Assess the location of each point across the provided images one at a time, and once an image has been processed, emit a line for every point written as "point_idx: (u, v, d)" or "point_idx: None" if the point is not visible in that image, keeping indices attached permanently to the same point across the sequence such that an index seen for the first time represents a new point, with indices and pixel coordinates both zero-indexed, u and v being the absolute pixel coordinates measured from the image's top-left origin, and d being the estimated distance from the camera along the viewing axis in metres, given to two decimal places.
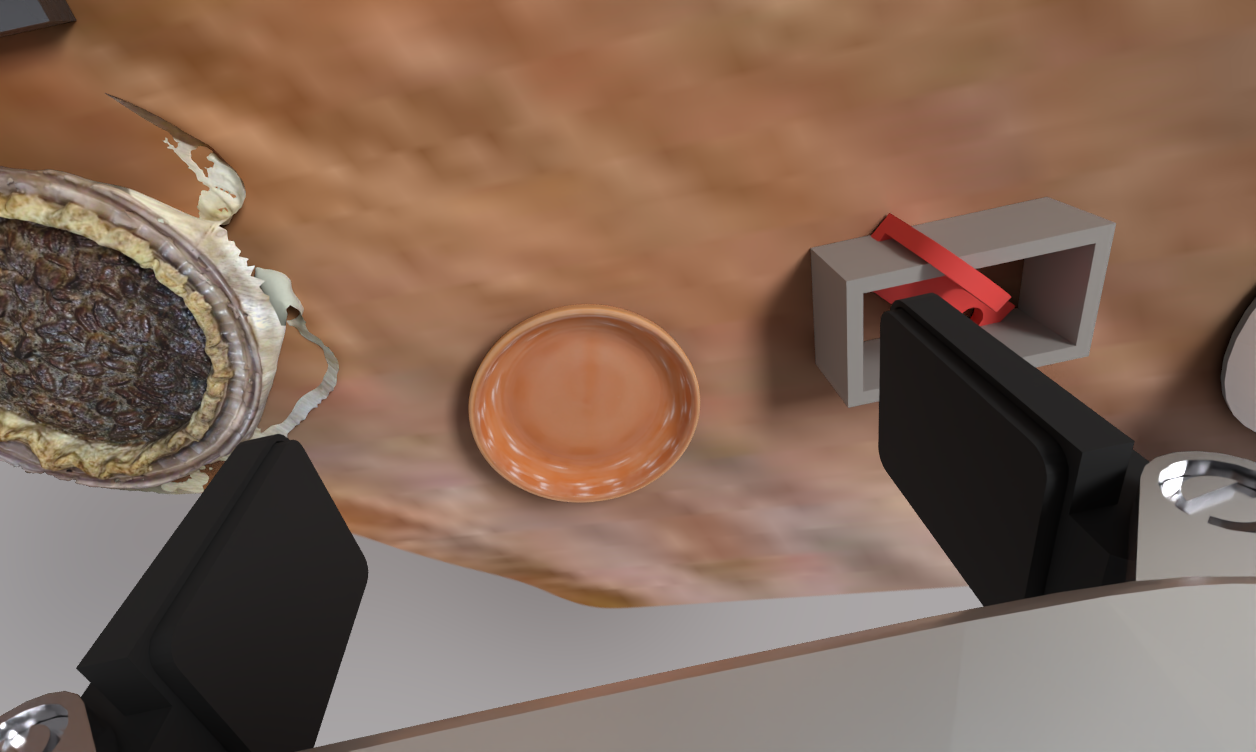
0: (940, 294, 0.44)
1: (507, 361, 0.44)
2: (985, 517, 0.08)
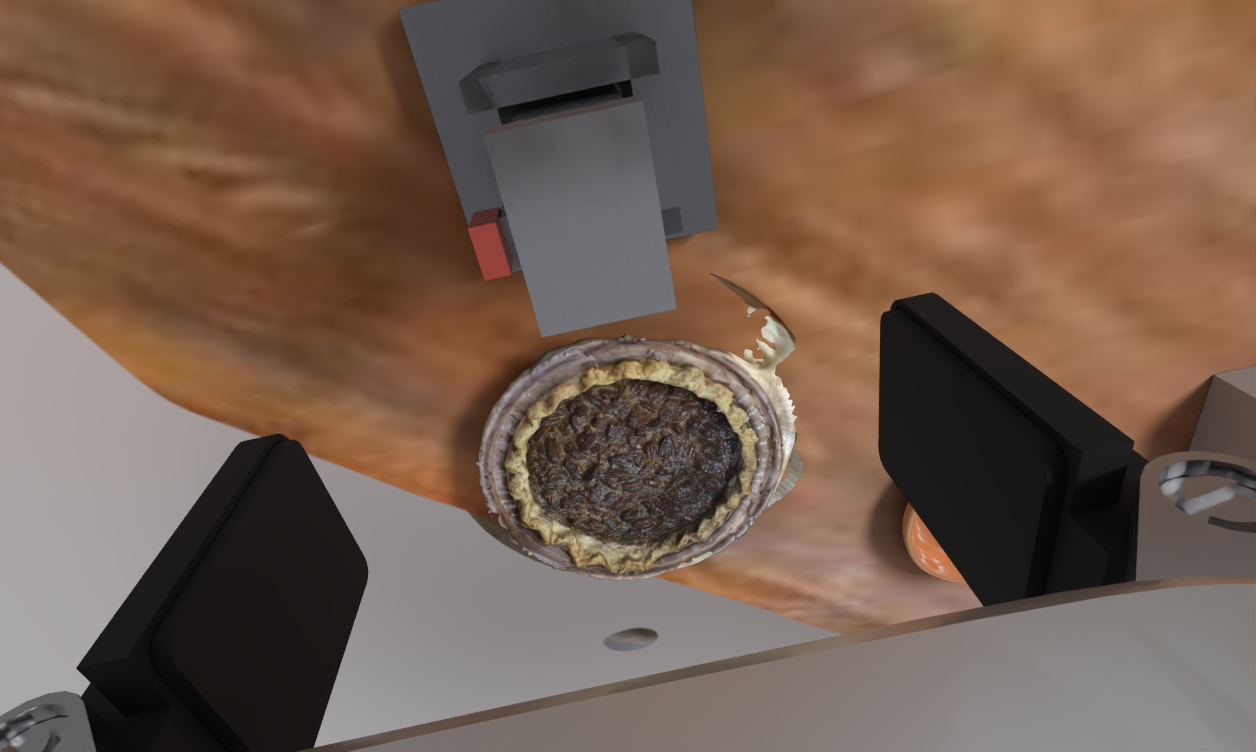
0: None
1: None
2: (986, 517, 0.08)
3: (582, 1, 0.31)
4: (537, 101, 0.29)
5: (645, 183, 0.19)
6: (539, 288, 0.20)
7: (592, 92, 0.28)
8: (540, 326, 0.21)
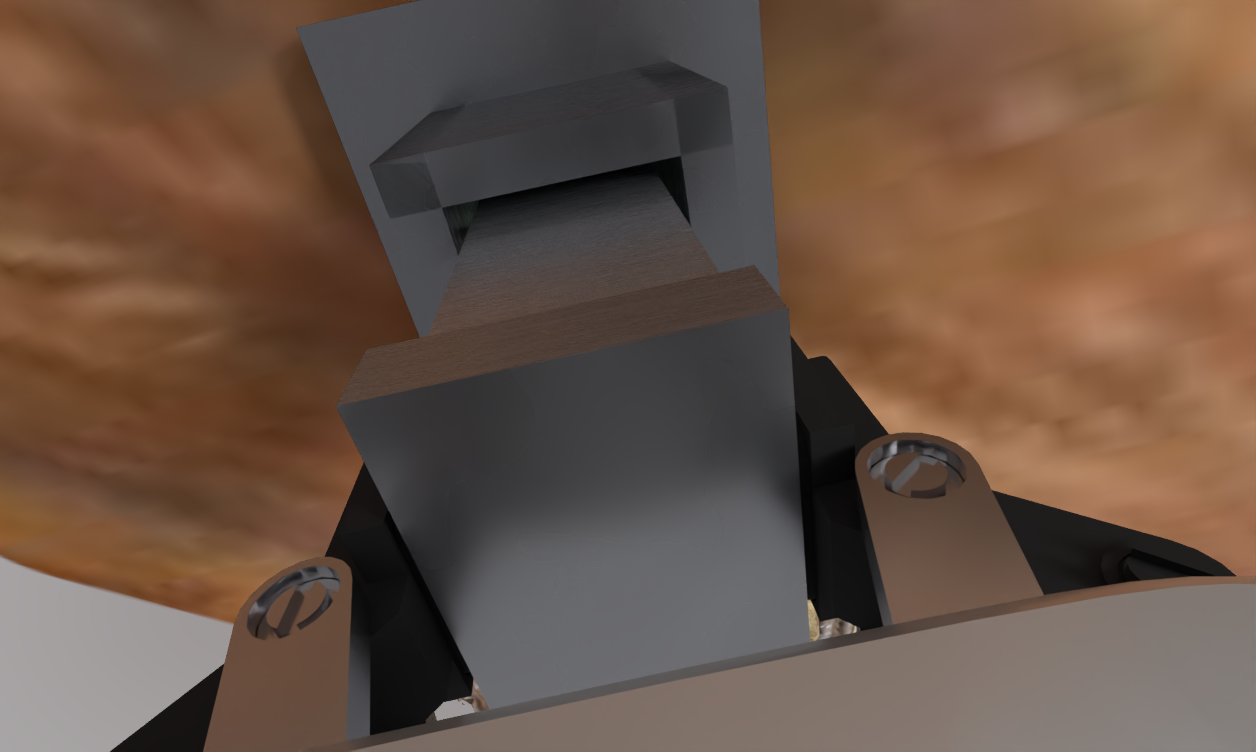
0: None
1: None
2: None
3: (589, 14, 0.20)
4: None
5: (772, 488, 0.07)
6: (507, 687, 0.09)
7: None
8: None
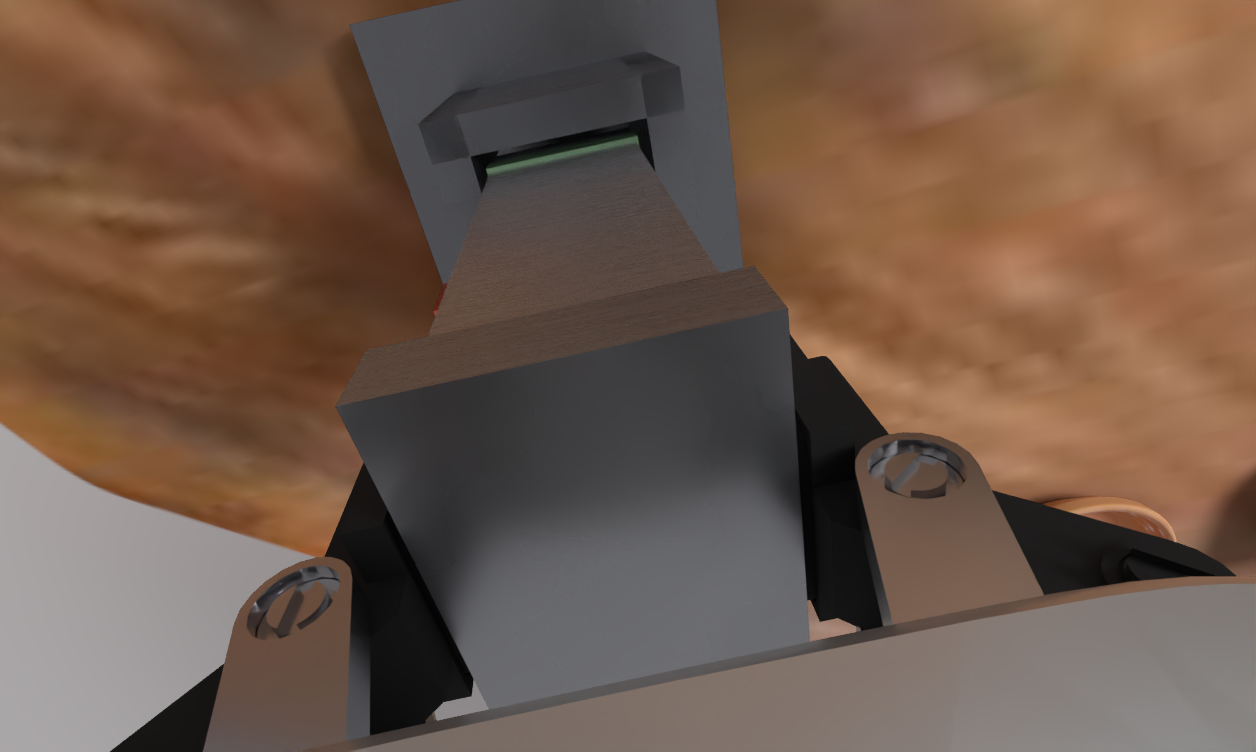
0: None
1: None
2: None
3: (581, 14, 0.25)
4: (517, 179, 0.18)
5: (772, 488, 0.07)
6: (507, 687, 0.09)
7: (608, 168, 0.17)
8: None
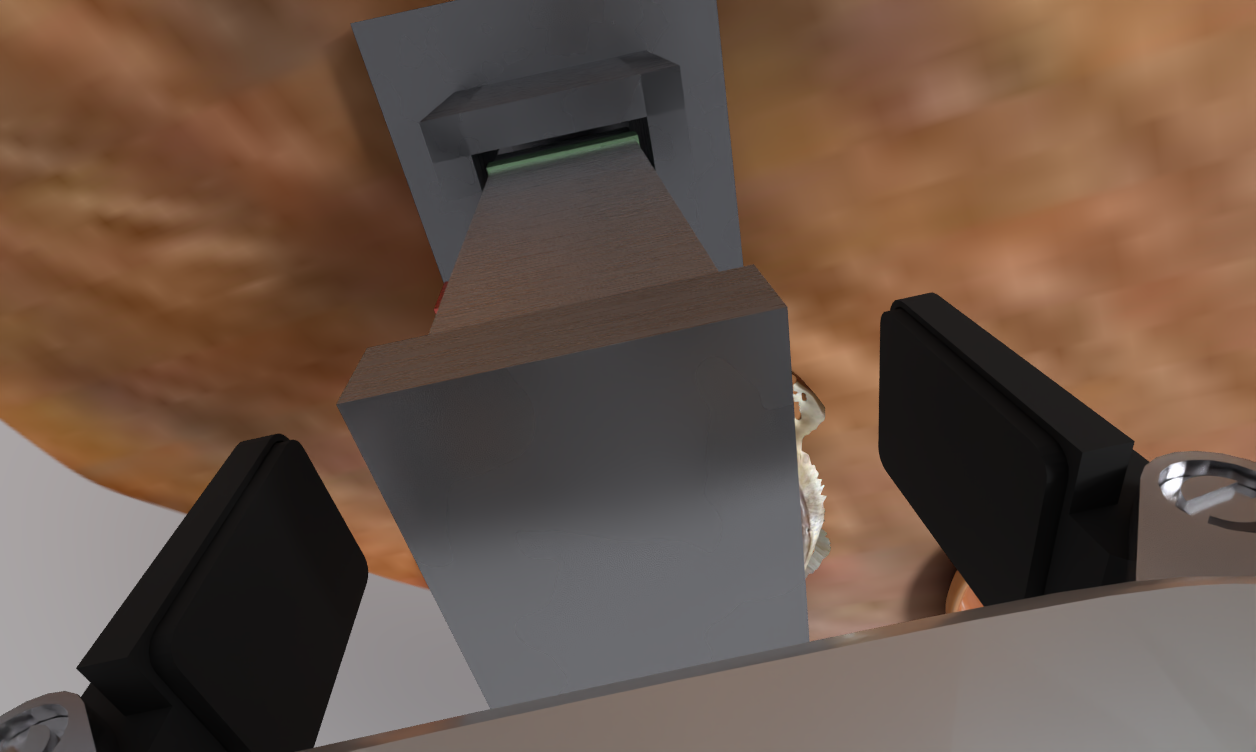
0: None
1: None
2: (985, 517, 0.08)
3: (582, 13, 0.25)
4: (517, 178, 0.18)
5: (771, 486, 0.07)
6: (507, 685, 0.09)
7: (608, 167, 0.17)
8: None
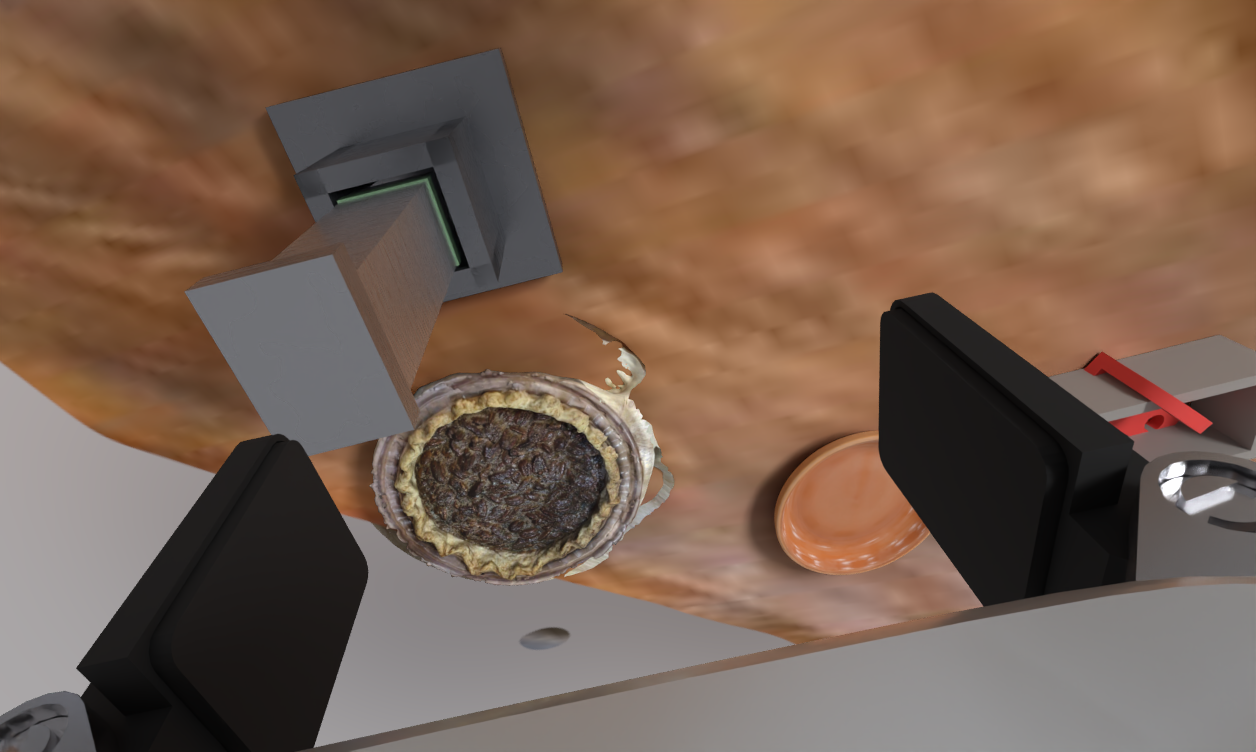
0: None
1: None
2: (986, 517, 0.08)
3: (418, 95, 0.38)
4: (347, 207, 0.31)
5: (353, 324, 0.20)
6: (274, 419, 0.21)
7: (393, 199, 0.30)
8: None
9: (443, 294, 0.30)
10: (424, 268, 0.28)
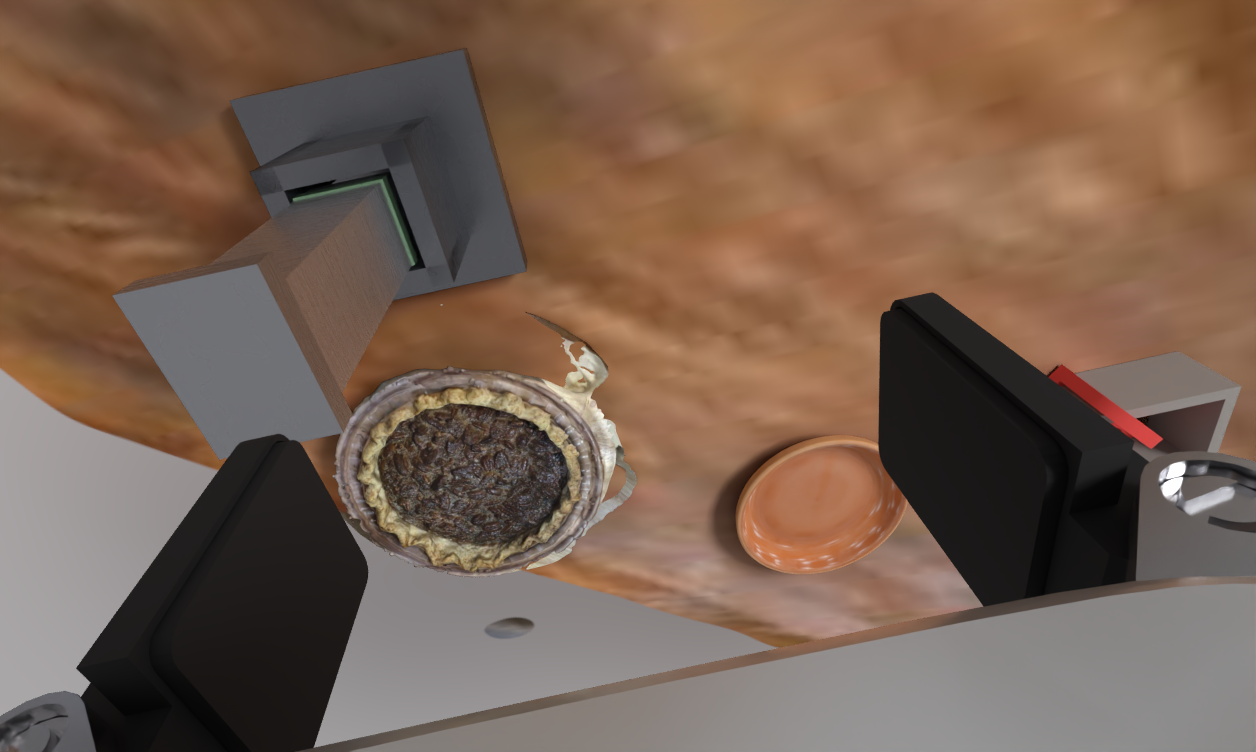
0: None
1: None
2: (985, 517, 0.08)
3: (382, 93, 0.38)
4: (300, 206, 0.31)
5: (280, 330, 0.21)
6: (204, 419, 0.22)
7: (345, 200, 0.30)
8: (215, 450, 0.22)
9: (392, 295, 0.31)
10: (371, 271, 0.29)
